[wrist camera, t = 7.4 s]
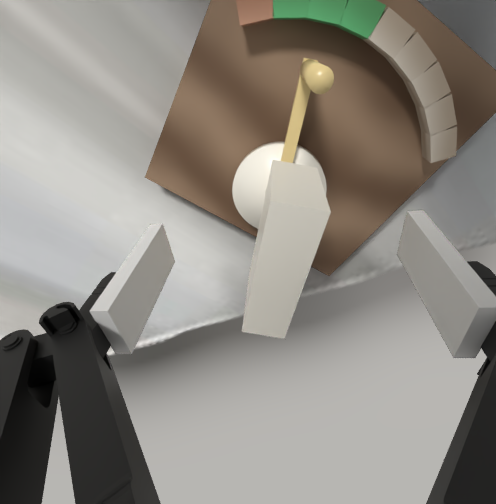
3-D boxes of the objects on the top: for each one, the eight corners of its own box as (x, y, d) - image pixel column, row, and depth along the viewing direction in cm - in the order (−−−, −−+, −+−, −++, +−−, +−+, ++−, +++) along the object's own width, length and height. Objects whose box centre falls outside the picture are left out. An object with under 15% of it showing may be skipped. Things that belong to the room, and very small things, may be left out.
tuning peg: (228, 223, 25) (200, 324, 16) (251, 47, 17) (223, 50, 9) (308, 238, 25) (325, 345, 16) (365, 69, 18) (453, 94, 9)
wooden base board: (263, -119, 15) (260, -156, 12) (498, 86, 19) (535, 93, 17) (153, 168, 25) (137, 184, 22) (326, 263, 29) (331, 286, 26)
